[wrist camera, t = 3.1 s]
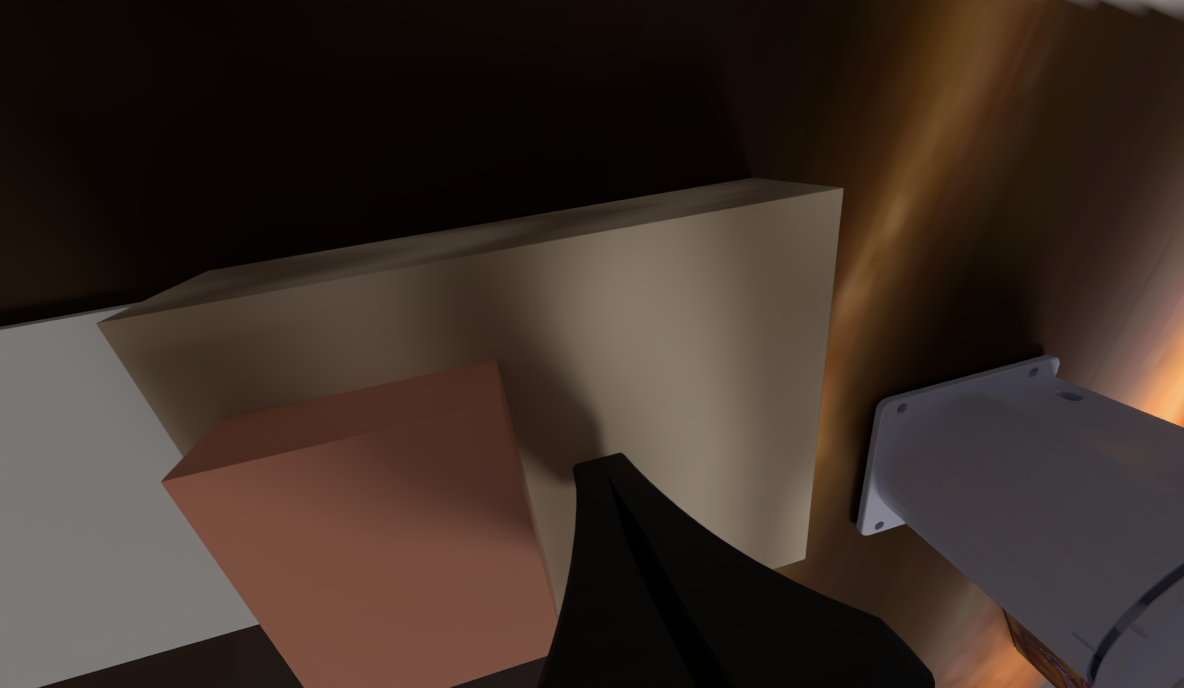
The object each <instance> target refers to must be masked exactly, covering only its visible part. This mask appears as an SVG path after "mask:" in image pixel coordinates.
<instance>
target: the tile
mask: <svg viewBox="0 0 1184 688" xmlns="http://www.w3.org/2000/svg"><path fill="white" fill-rule="evenodd" d="M161 483H162V485H163V486H164V488H165V489H166V491H167V492H168V493H169V495H170V496H171V498H172V499H173V501H174V502H175V503H176V505H177V506H178V508H179V509H180V511H181V512H182V513H183V515H184V516H185V518H186V519H187V521H188V522H189V524H190V525H191V526H192V528H193V529H194V531H195V532H196V534H197V535H198V536H199V538H200V539H201V541H202V542H203V544H204V545H205V546H206V548H207V549H208V551H209V552H210V554H211V555H212V556H213V558H214V559H215V561H216V562H217V564H218V565H219V566H220V568H221V569H222V571H223V572H224V574H225V575H226V576H227V578H228V579H229V581H230V582H231V584H232V585H233V586H234V588H235V589H236V591H237V592H238V594H239V595H240V597H241V598H242V599H243V601H244V602H245V604H246V605H247V607H248V608H249V609H250V611H251V612H252V614H253V615H254V617H255V618H256V619H257V621H258V622H259V624H260V625H261V627H262V628H263V629H264V631H265V632H266V634H267V635H268V637H269V638H270V639H271V641H272V642H273V644H274V645H275V647H276V648H277V649H278V651H279V652H280V654H281V655H282V657H283V658H284V659H285V661H286V662H287V664H288V665H289V667H290V668H291V670H292V671H293V672H294V674H295V675H296V677H297V678H298V680H299V681H300V682H301V684H302V685H303V687H304V688H449V687H452V686H455V685H458V684H462V683H465V682H468V681H471V680H474V679H477V678H480V677H483V676H486V675H489V674H492V673H495V672H498V671H501V670H504V669H507V668H511V667H514V666H517V665H520V664H523V663H526V662H529V661H532V660H535V659H538V658H541V657H544V656H547V655H548V653H549V650H550V647H551V644H552V640H553V637H554V633H555V630H556V626H557V622H558V613H557V607H556V601H555V596H554V590H553V585H552V581H551V577H550V573H549V569H548V565H547V561H546V557H545V553H544V549H543V544H542V540H541V536H540V532H539V528H538V524H537V520H536V516H535V512H534V508H533V504H532V500H531V496H530V492H529V488H528V484H527V480H526V476H525V472H524V468H523V464H522V460H521V456H520V452H519V448H518V444H517V440H516V436H515V431H514V427H513V423H512V419H511V415H510V411H509V407H508V403H507V399H506V395H505V391H504V387H503V383H502V379H501V375H500V371H499V367H498V363H497V359H496V360H492V361H487V362H482V363H478V364H473V365H469V366H464V367H460V368H455V369H450V370H446V371H441V372H437V373H432V374H428V375H423V376H418V377H414V378H409V379H405V380H400V381H395V382H391V383H386V384H382V385H377V386H373V387H368V388H363V389H359V390H354V391H350V392H345V393H341V394H336V395H331V396H327V397H322V398H318V399H313V400H308V401H304V402H299V403H295V404H290V405H286V406H281V407H276V408H272V409H267V410H263V411H258V412H254V413H249V414H244V415H240V416H235V417H231V418H226V419H222V420H218V421H217V422H216V423H215V424H214V425H213V426H212V427H211V428H210V429H209V431H208V432H207V433H206V434H205V435H204V436H203V437H202V438H201V439H200V440H199V441H198V442H197V443H196V444H195V445H194V447H193V448H192V449H191V450H190V451H189V452H188V453H187V454H186V455H185V456H184V457H183V458H182V459H181V460H180V462H179V463H178V464H177V465H176V466H175V467H174V468H173V469H172V470H171V471H170V472H169V473H168V474H167V475H166V476H165V478H164V479H163V480H162V481H161Z"/></svg>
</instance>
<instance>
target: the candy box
mask: <svg viewBox="0 0 1184 688" xmlns="http://www.w3.org/2000/svg"><path fill="white" fill-rule="evenodd" d="M1005 612H1006V616H1007V619H1008V622H1009V625H1010V628H1011V631H1012V635H1013V638H1014V641H1015V645H1016V650H1017V651H1018V652H1019V653H1020V654H1021V655H1022V656H1023V657H1024V658H1025V659H1026V660H1027V661H1029V662H1030V663H1031V664H1032V665H1033V666H1034V667H1035V668H1036V669H1037V670H1038V671H1039V672H1040V673H1041V674H1042V675H1043V676H1044V677H1045V678H1046V679H1047V680H1048V681H1049V682H1050V683H1051V684H1053V685H1054V686H1055V687H1056V688H1091V685H1090V684H1089V683H1088V682H1087V681H1086V680H1084V679H1083V678H1082V677H1081V676H1080V675H1079V674H1078V673H1076V672H1075V671H1074V670H1073V669H1072V668H1071V667H1070V666H1068V665H1067V664H1066V663H1065V662H1064V661H1063V660H1062V659H1060V658H1059V657H1058V656H1057V655H1056V654H1055V653H1054V652H1052V651H1051V650H1050V649H1049V648H1048V647H1047V646H1046V645H1044V644H1043V643H1042V642H1041V641H1040V640H1039V639H1038V638H1036V637H1035V636H1034V635H1033V634H1032V633H1031V632H1030V631H1028V630H1027V629H1026V628H1025V627H1024V626H1023V625H1022V624H1020V623H1019V622H1018V621H1017V620H1016V619H1015V618H1014V617H1012V616H1011V615H1010V614H1009V613H1008V612H1007V611H1006V610H1005Z"/></svg>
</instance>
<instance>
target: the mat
mask: <svg viewBox="0 0 1184 688" xmlns="http://www.w3.org/2000/svg"><path fill="white" fill-rule="evenodd" d="M138 303H140V302H138ZM138 303H133V304H127V305H121V306H116V307H110V308H105V309H99V310H93V311H88V312H82V313H76V314H71V315H65V316H59V317H54V318H48V319H42V320H37V321H31V322H25V323H20V324H14V325H8V326H3V327H0V688H37V687H41V686H44V685H48V684H51V683H55V682H58V681H62V680H65V679H69V678H72V677H76V676H79V675H83V674H86V673H90V672H93V671H97V670H100V669H104V668H107V667H111V666H114V665H118V664H121V663H125V662H128V661H132V660H135V659H139V658H142V657H146V656H149V655H153V654H156V653H160V652H163V651H167V650H170V649H174V648H177V647H181V646H184V645H187V644H191V643H194V642H198V641H201V640H205V639H208V638H212V637H215V636H219V635H222V634H226V633H229V632H233V631H236V630H240V629H243V628H247V627H250V626H254V625H257V624H259V622H258V621H257V619H256V618H255V617H254V615H253V614H252V612H251V611H250V609H249V608H248V607H247V605H246V604H245V602H244V601H243V599H242V598H241V597H240V595H239V594H238V592H237V591H236V589H235V588H234V586H233V585H232V584H231V582H230V581H229V579H228V578H227V576H226V575H225V574H224V572H223V571H222V569H221V568H220V566H219V565H218V564H217V562H216V561H215V559H214V558H213V556H212V555H211V554H210V552H209V551H208V549H207V548H206V546H205V545H204V544H203V542H202V541H201V539H200V538H199V536H198V535H197V534H196V532H195V531H194V529H193V528H192V526H191V525H190V524H189V522H188V521H187V519H186V518H185V516H184V515H183V513H182V512H181V511H180V509H179V508H178V506H177V505H176V503H175V502H174V501H173V499H172V498H171V496H170V495H169V493H168V492H167V491H166V489H165V488H164V486H163V485H162V483H161V481H162V480H163V479H164V478H165V476H166V475H167V474H168V473H169V472H170V471H171V470H172V469H173V468H174V467H175V466H176V465H177V464H178V463H179V462H180V460H181V459H182V458H183V456H182V455H181V453H180V452H179V450H178V449H177V447H176V446H175V444H174V442H173V441H172V439H171V438H170V436H169V435H168V433H167V432H166V430H165V429H164V427H163V426H162V424H161V422H160V421H159V419H158V418H157V416H156V415H155V413H154V412H153V410H152V409H151V407H150V406H149V404H148V402H147V401H146V399H145V398H144V396H143V395H142V393H141V392H140V390H139V389H138V387H137V386H136V384H135V383H134V381H133V379H132V378H131V376H130V375H129V373H128V372H127V370H126V369H125V367H124V366H123V364H122V363H121V361H120V359H119V358H118V356H117V355H116V353H115V352H114V350H113V349H112V347H111V346H110V344H109V343H108V341H107V340H106V338H105V336H104V335H103V333H102V332H101V330H100V329H99V327H98V326H97V324H96V323H98V322H100V321H102V320H104V319H106V318H108V317H111V316H113V315H115V314H117V313H119V312H121V311H123V310H126V309H128V308H130V307H132V306H134V305H136V304H138Z"/></svg>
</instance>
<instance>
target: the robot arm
mask: <svg viewBox="0 0 1184 688" xmlns="http://www.w3.org/2000/svg"><path fill="white" fill-rule="evenodd" d="M1059 363H1060V362H1059V359H1058V358H1056V357H1053V356H1051V355H1044V356H1040V357H1037V358H1033V359H1029V360H1026V361H1022V362H1018V363H1014V364H1011V365H1007V366H1003V367H999V368H996V369H992V370H988V371H984V372H981V373H977V374H973V375H969V376H966V377H962V378H958V379H955V380H951V381H947V382H943V383H940V384H936V385H932V386H928V387H925V388H921V389H917V390H913V391H910V392H906V393H902V394H899V395H895V396H891V397H887V398H885V399H883V400H882V401H880V402H879V404H878V405H877V407H876V411H875V417H874V423H873V429H872V435H871V441H870V447H869V453H868V459H867V465H866V471H865V477H864V483H863V489H862V495H861V501H860V508H859V514H858V520H857V529H858V531H859V532H860V533H861V534H862V535H871V534H874V533H877V532H880V531H883V530H886V529H889V528H893V527H896V526H899V525H902V524H905V523H906V524H908V525H909V526H910V527H911V528H912V529H913V530H914V531H915V532H917V533H918V534H919V535H920V536H921V537H922V538H923V539H925V540H926V541H927V542H928V543H929V544H930V545H931V546H933V547H934V548H935V549H936V550H937V551H938V552H939V553H941V554H942V555H943V556H944V557H945V558H946V559H947V560H949V561H950V562H951V563H952V564H953V565H954V566H955V567H957V568H958V569H959V570H960V571H961V572H962V573H963V574H965V575H966V576H967V577H968V578H969V579H970V580H971V581H973V582H974V583H975V584H976V585H977V586H978V587H979V588H981V589H982V590H983V591H984V592H985V593H986V594H987V595H989V596H990V597H991V598H992V599H993V600H994V601H995V602H997V603H998V604H999V605H1000V606H1001V607H1002V608H1003V609H1004V610H1006V611H1007V612H1008V613H1009V614H1010V615H1011V616H1012V617H1014V618H1015V619H1016V620H1017V621H1018V622H1019V623H1020V624H1022V625H1023V626H1024V627H1025V628H1026V629H1027V630H1028V631H1030V632H1031V633H1032V634H1033V635H1034V636H1035V637H1036V638H1038V639H1039V640H1040V641H1041V642H1042V643H1043V644H1044V645H1046V646H1047V647H1048V648H1049V649H1050V650H1051V651H1052V652H1054V653H1055V654H1056V655H1057V656H1058V657H1059V658H1060V659H1062V660H1063V661H1064V662H1065V663H1066V664H1067V665H1068V666H1070V667H1071V668H1072V669H1073V670H1074V671H1075V672H1076V673H1078V674H1079V675H1080V676H1081V677H1082V678H1083V679H1084V680H1086V681H1087V682H1088V683H1089V684H1090V685H1091V688H1184V428H1183V427H1181V426H1178V425H1176V424H1173V423H1171V422H1168V421H1166V420H1163V419H1161V418H1158V417H1156V416H1153V415H1151V414H1148V413H1146V412H1143V411H1141V410H1138V409H1135V408H1133V407H1130V406H1128V405H1125V404H1123V403H1120V402H1118V401H1115V400H1113V399H1110V398H1108V397H1105V396H1103V395H1100V394H1098V393H1095V392H1093V391H1090V390H1088V389H1085V388H1083V387H1080V386H1078V385H1075V384H1073V383H1070V382H1068V381H1065V380H1063V379H1060V378H1058V377H1055V376H1056V373H1057V370H1058V367H1059ZM572 470H573V475H574V480H575V486H576V519H575V533H574V541H573V549H572V556H571V563H570V569H569V574H568V580H567V584H566V589H565V594H564V598H563V602H562V606H561V610H560V614H559V618H558V622H557V626H556V630H555V633H554V637H553V640H552V644H551V647H550V650H549V653H548V656H547V659H546V662H545V665H544V668H543V671H542V674H541V677H540V680H539V683H538V686H537V688H935V681H934V678H933V675H932V673H931V671H930V670H929V669H928V668H927V667H926V666H925V664H924V663H923V662H922V661H921V660H920V659H919V658H918V656H917V655H916V654H915V653H914V652H913V651H912V649H911V648H910V647H909V646H908V645H907V644H906V643H905V642H904V641H903V640H902V639H901V638H900V637H899V636H898V635H897V634H896V633H895V632H894V631H893V630H892V629H891V628H890V627H889V626H888V625H887V624H886V623H885V622H884V621H883V620H882V619H881V618H879V617H876V616H874V615H871V614H869V613H866V612H864V611H861V610H859V609H856V608H854V607H851V606H849V605H846V604H844V603H841V602H839V601H836V600H834V599H831V598H829V597H827V596H824V595H822V594H820V593H818V592H816V591H814V590H811V589H809V588H807V587H805V586H803V585H801V584H799V583H797V582H795V581H793V580H791V579H789V578H787V577H785V576H784V575H782V574H780V573H778V572H776V571H774V570H772V569H771V568H769V567H767V566H765V565H763V564H761V563H759V562H758V561H756V560H754V559H752V558H751V557H749V556H748V555H746V554H744V553H743V552H741V551H739V550H738V549H736V548H735V547H733V546H732V545H730V544H729V543H727V542H725V541H724V540H722V539H721V538H719V537H718V536H717V535H715V534H714V533H712V532H711V531H709V530H708V529H707V528H705V527H704V526H703V525H701V524H700V523H699V522H697V521H696V520H695V519H693V518H692V517H691V516H690V515H688V514H687V513H686V512H685V511H683V510H682V509H681V508H680V507H678V506H677V505H676V504H675V503H674V502H673V501H671V500H670V499H669V498H668V497H667V496H666V495H665V494H663V493H662V492H661V491H660V490H659V489H658V488H657V487H656V486H655V485H654V484H652V483H651V482H650V481H649V480H648V479H647V478H646V477H645V476H644V475H643V474H642V473H641V472H640V471H639V470H638V469H637V468H636V467H635V466H634V465H633V463H632V462H631V461H630V460H629V459H628V458H627V457H626V456H625V455H624V454H623V453H621V452H620V453H616V454H612V455H608V456H604V457H601V458H597V459H593V460H589V461H585V462H582V463H578V464H576V465H575V466H574V467H573V468H572Z"/></svg>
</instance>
